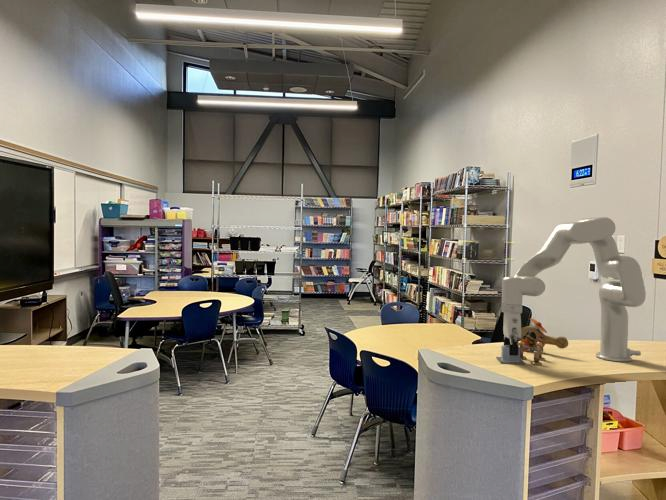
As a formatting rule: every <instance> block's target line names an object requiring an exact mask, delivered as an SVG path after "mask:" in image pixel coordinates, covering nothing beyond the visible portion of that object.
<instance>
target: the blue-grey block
mask: <svg viewBox="0 0 666 500" xmlns="http://www.w3.org/2000/svg"><path fill="white" fill-rule="evenodd" d="M500 357H501V359H502V360H505V361H510V362H518V361H520V347H519V349H518V356H514V355H509V345H504V344H503V345H501V355H500Z"/></svg>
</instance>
